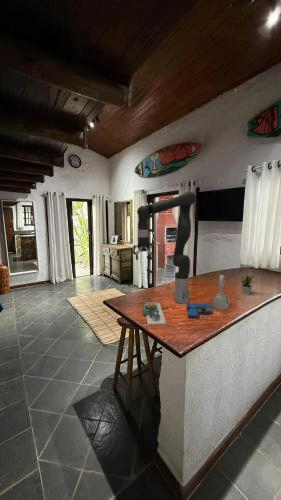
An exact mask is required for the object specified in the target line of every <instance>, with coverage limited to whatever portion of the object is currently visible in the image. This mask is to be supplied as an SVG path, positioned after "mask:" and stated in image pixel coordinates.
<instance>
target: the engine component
mask: <svg viewBox="0 0 281 500" xmlns="http://www.w3.org/2000/svg"><path fill="white" fill-rule="evenodd" d="M225 279H226V277H225V275H224V274H220V276H219V279H218V281H219V283H218V285H219V293H217V294H215V297H213V300H212V306H213V308H215V309H220V310H227V309H229V308H230V299H229V298H230V297H229V296H228V295H226V294H224V287H225V281H226V280H225Z"/></svg>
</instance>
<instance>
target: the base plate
mask: <svg viewBox="0 0 281 500" xmlns="http://www.w3.org/2000/svg"><path fill="white" fill-rule="evenodd" d="M144 305H146V303H144ZM155 305H157V306H158V310H159V315H160V320H158V321H153V320H152V317H151V318H150V317H149V315H145V316H146V322H147V326H155V325H156V326H158V325H166V324H167V323H166V319H165V316H164V312H163V310H162V306H161V304H160V302H155Z"/></svg>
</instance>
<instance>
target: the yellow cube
mask: <svg viewBox="0 0 281 500" xmlns="http://www.w3.org/2000/svg"><path fill="white" fill-rule="evenodd" d="M155 303H156V302H155V301H153V302H146V303H145V304H146V308H147V310H150V309H153V310H155V309H156V308H155Z"/></svg>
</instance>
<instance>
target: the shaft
mask: <svg viewBox="0 0 281 500" xmlns="http://www.w3.org/2000/svg"><path fill="white" fill-rule="evenodd" d="M149 317H150V318H151V317H152V320H153V321H158V320H160V315H159V314H158V313H157V312H156V311H155V310H153V309H150V310H149Z"/></svg>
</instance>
